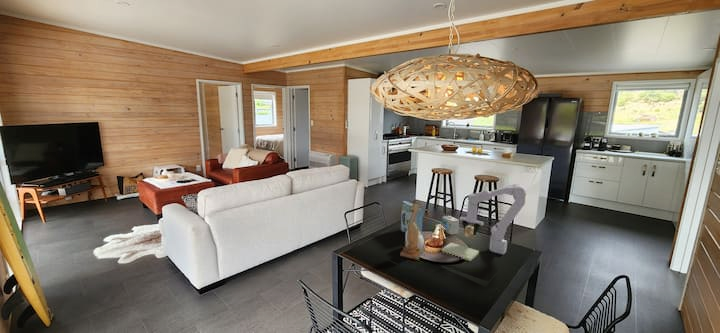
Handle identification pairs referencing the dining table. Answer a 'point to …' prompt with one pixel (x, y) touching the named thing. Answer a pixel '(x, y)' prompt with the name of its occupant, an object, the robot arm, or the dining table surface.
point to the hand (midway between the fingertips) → (470, 233)
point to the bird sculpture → (412, 236)
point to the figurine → (420, 240)
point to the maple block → (469, 231)
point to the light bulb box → (450, 224)
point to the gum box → (407, 215)
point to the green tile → (460, 251)
